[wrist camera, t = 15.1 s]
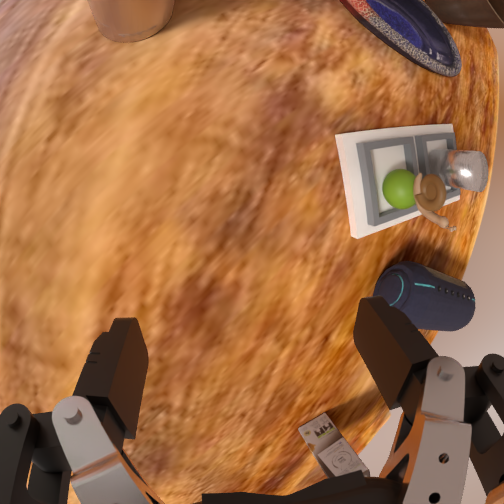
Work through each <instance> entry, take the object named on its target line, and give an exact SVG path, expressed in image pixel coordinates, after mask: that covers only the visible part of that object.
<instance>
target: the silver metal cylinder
mask: <svg viewBox="0 0 504 504" xmlns="http://www.w3.org/2000/svg"><path fill="white" fill-rule="evenodd" d="M428 158H429V167H430V174H435V175H437V176H439V177H440V178H441V179H442V181H443V182H444V184H445V186H449V187H455V188H460V189H466V190H472V191H477V192H482V191H483V190H484V189H485V187H486V184H487V180H488V164H487V160H486V158H485V156H484V154H483V153H482V152H480V151H469V150H453V149H433V150H431V151H430V153H429V155H428Z"/></svg>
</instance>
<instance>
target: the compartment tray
mask: <svg viewBox="0 0 504 504" xmlns="http://www.w3.org/2000/svg"><path fill="white" fill-rule="evenodd" d="M335 138H336V143H337V148H338V153H339V158H340V164H341V170H342V175H343V181H344V188H345V194H346V201H347V208H348V215H349V222H350V230H351V236H352V237H354V238H357V239H359V238H361V237H364V236H367V235H369V234H372V233H375V232H377V231H380V230H383V229H385V228H388V227H390V226H393V225H396V224H398V223H401V222H404V221H406V220H409V219H411V218H414V217H416V216H419V215H422V214H421V213H420V211H419V210H418V208H417V205H416V204H415V205H414V206H412V207H410V208H408V209H397V208H394V207H392V206H391V205H390V204H389V203H388V202H387V201H386V200H385V198H384V195H383V192H382V184H383V181H384V179H385V177H386V175H387V174H388V173H390V172H391V171H393V170H396V169H405V170H408V171H410V172H411V173H413V174H414V175H415V176H417V175H418V174H419V173H422V179H423V178H424V177H425V176H426V175H428V174H430V167H429V158H428V155H429V153H430V151H431V150H433V149H453V150H457V147H456V139H455V132H453V125H452V124H435V125H419V126H406V127H394V128H384V129H375V130H367V131H359V132H351V133H344V134H337V135H335ZM445 187H446V193H447V194H446V201H445V203H444V205H443V206H445V205H447V204H450V203H452V202H455V201H457V200H460V188H455V187H449V186H445Z"/></svg>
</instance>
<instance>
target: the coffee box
mask: <svg viewBox="0 0 504 504" xmlns="http://www.w3.org/2000/svg"><path fill="white" fill-rule="evenodd" d="M298 430H299V432H300V433H301V435H302V437H303V439H304V440H305V442H306V444H307V445H308V447H309V449H310V450H311V452H312V454H313V455H314V457H315V459H316V460H317V462H318V463H319V465H320V467H321V468H322V470H323V471H324V473H325V474H326V476H327V477H328V478H332V477H336V476H340V475H344V474H347V473H351V472H354V471H358V470H362V472H363V475H364V477H370V472H369V469H368V468H367V467H366V466H365V465H364V463H363V462H362V461H361V459H360V458H359V457H358V455H357V454H356V453H355V452H354V450H353V449H352V448H351V446H350V445H349V444H348V442H347V441H346V440H345V438H344V437H343V436H342V434H341V433H340V432H339V430H338V429H337V428H336V426H335V425H334V424H333V422H332V421H331V420H330V418H329V417H328V416H327V414H326V413H323V414H321V415H320V416H318V417H316V418H315V419H313V420H311V421H310V422H308V423H306V424H305V425H303V426H301V427H299V428H298Z"/></svg>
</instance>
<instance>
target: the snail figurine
mask: <svg viewBox="0 0 504 504" xmlns="http://www.w3.org/2000/svg"><path fill="white" fill-rule="evenodd" d="M382 192H383V195H384V198H385V200H386V201H387V202H388V203H389V204H390V205H391V206H392V207H394V208H397V209H408V208H410V207H412V206H414V205H415V204H416V205H417V208H418V210H419V211H420V213H421V214H422V215H423V216H425V217H426V218H427V219H429V220H430V221H432V222H434V223H436V224H438V225H439V226H440V227H442V228H446V227H447V226H448V224H449V222H448V219H447V218H446V217H445V216H439V215H438V214H436V213H434V212H433V211H437V210H439V209H440V208H442V207H443V205H444V203H445V201H446V194H447V193H446V187H445V184H444V182H443V181H442V179H441V178H440V177H439V176H437V175H435V174H428V175H426V176H425V177H424V178H423V179H422V173H419V174H418V175H417V176H415V175H414V174H413V173H411V172H410V171H408V170H405V169H396V170H393V171H391V172H390V173H388V174H387V175H386V177H385V179H384V181H383V184H382ZM448 227H449V226H448ZM447 229H449V230H450V231H453V230H456V226H453V227H450V228H447Z"/></svg>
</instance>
